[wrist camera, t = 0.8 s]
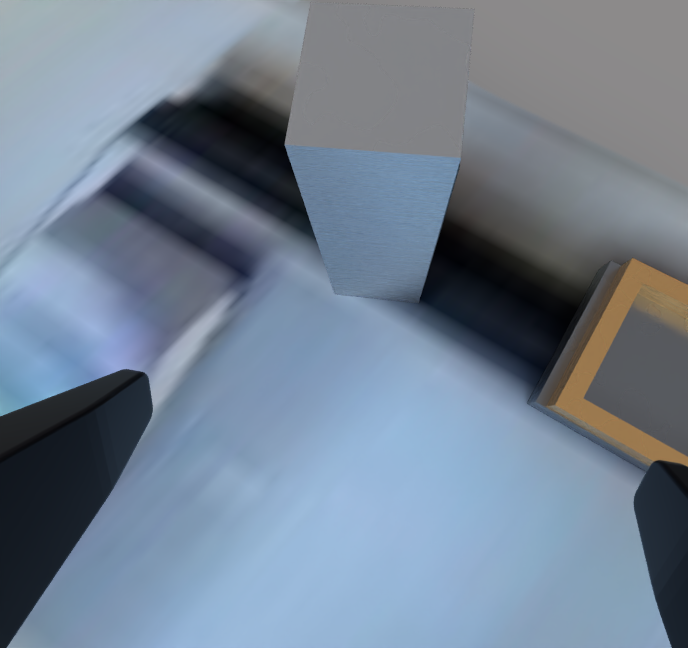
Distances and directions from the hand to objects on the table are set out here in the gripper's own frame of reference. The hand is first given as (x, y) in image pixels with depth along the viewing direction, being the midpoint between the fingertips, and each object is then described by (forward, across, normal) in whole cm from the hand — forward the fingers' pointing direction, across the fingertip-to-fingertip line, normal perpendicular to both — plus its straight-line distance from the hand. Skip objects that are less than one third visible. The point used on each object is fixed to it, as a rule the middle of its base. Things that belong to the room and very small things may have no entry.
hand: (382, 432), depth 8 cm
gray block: (+15, +1, +2) cm, 15 cm away
